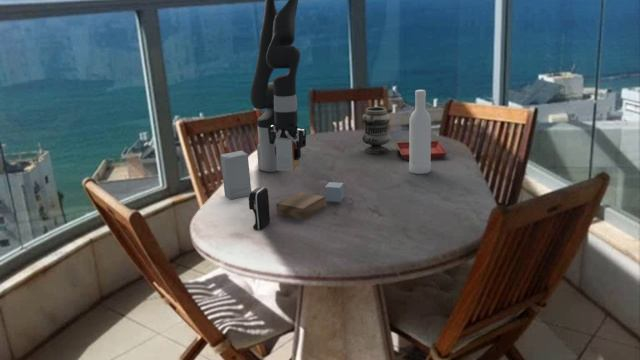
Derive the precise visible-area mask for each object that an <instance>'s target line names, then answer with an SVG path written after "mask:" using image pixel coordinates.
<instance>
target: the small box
mask: <svg viewBox="0 0 640 360" xmlns="http://www.w3.org/2000/svg"><path fill="white" fill-rule="evenodd" d="M297 136H298V137H299V135H298V134H297ZM293 139H294V140H295V137H294V138H293ZM293 139H288V138H281V137H280V138H278V139H277V140H276V158H277V171H276V172H284V171H285V172H294V171H295V170H296V168H297V167H298V166H299V165H300V159H298V160H294V144H293Z"/></svg>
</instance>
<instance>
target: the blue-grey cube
mask: <svg viewBox="0 0 640 360" xmlns="http://www.w3.org/2000/svg"><path fill="white" fill-rule="evenodd" d="M324 194H325V195H324V197H325V202H333V203H334V202H335V203H341V202H342V200H343V199H344V198H345V183H344V182H334V181H332V182H331V181H330V182H328V183H327V184H326V185H325V186H324Z"/></svg>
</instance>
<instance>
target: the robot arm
mask: <svg viewBox="0 0 640 360" xmlns="http://www.w3.org/2000/svg"><path fill="white" fill-rule="evenodd" d="M298 3H299V0H288V1H287V2H286V3H285V5H283V7H282V8H281V9H280V10H279V11H278V9H277V7H276V6H277V5H276V3H275V0H265V1H264V11H263V12H264V13H263V19H262V24H261V32H260V38H259V43H258V45H259V46H258V53H257V60H256V66H255V72H254V74H253V80H252V84H251V89H250V102H251V105H252V106H253V108H254V109H256V110H265V111H264V112H263V114H261V116H259V117H258V118H257V120H256V125H257V137H258V138H257V139H258V144H257V145H256V153H257V167H258V168H257V169H259V170H261V171H262V172H268V173H269V172H271V173H273V172H274V173H275V172H278V171H277V158H276V140H277V139H278V138H280V137H281V138H288V139H293V138H294V137H295V140H294V139H293V144H294V160H298V159H299V160H300V159H301V158H302V157H301V156H302V154H301V153H302V152H301V149H302V148H304V147H306V146H307V130H306V128H303V129H301V128H299V127H298V123H299V118H298V100H297V98H298V97H297V86H296V84H297V83H296V81H297V73H298V72H297V71H298V67H299V65H300V62H301V61H300V59H301V53H300V50H299V48H298V47H297V46H296V45H293V44H294V42H295V38H296V37H295V35H296V33H295V32H296V30H295V28H296V14H297V11H298ZM275 69H276V70H277V69H288V72H287V73H285V74H283V75H281V74H280V75H278V76H275V77H274V78H273V82H270V78H271V76H272V74H273V71H274V70H275ZM297 135H298V136H297Z"/></svg>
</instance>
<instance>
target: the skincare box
mask: <svg viewBox="0 0 640 360" xmlns="http://www.w3.org/2000/svg"><path fill="white" fill-rule="evenodd" d="M219 157H220V166H221V175H222V182H223V183H222V184H223V190H224V195H225V196H226V197H227V198H228V199H229V200H233V199H239V198H243V197H249V194H250V193H251V192H252V185H251V184H252V183H251V173H250V163H249V155H248V153H247V152H245V151H243V150H237V151H232V152H228V153H222V154H219Z"/></svg>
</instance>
